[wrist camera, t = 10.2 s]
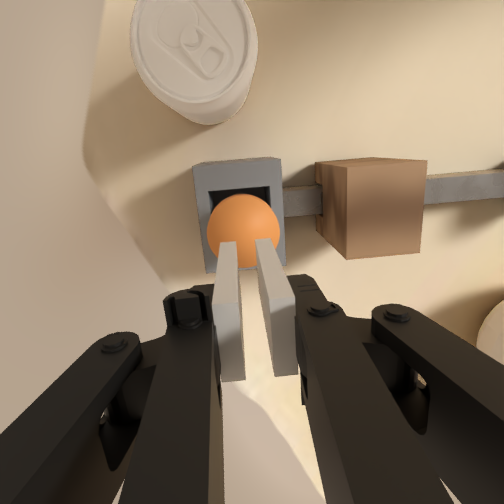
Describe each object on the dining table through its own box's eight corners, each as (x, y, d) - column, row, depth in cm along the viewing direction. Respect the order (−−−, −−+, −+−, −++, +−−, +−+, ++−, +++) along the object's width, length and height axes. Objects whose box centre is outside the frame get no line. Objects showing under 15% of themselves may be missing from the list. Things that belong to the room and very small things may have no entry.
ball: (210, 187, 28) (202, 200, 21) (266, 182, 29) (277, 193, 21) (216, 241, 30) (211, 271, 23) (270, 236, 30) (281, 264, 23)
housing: (201, 162, 33) (192, 166, 25) (269, 156, 33) (280, 159, 25) (212, 250, 36) (206, 277, 28) (275, 244, 36) (286, 270, 28)
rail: (271, 176, 34) (278, 182, 28) (540, 153, 35) (601, 154, 29) (273, 223, 35) (281, 237, 30) (531, 200, 36) (588, 209, 30)
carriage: (314, 162, 33) (347, 167, 24) (372, 157, 33) (427, 160, 24) (316, 230, 35) (346, 259, 26) (370, 225, 35) (419, 252, 26)
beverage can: (203, 8, 29) (183, -84, 17) (267, 78, 31) (287, 37, 19) (146, 80, 30) (94, 39, 19) (211, 143, 32) (199, 140, 21)
